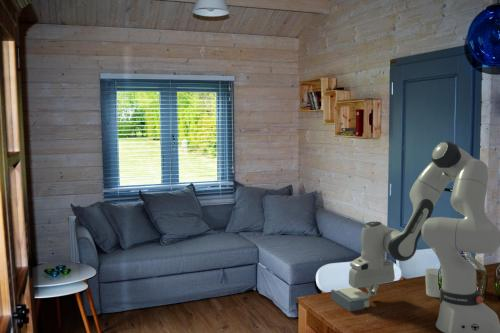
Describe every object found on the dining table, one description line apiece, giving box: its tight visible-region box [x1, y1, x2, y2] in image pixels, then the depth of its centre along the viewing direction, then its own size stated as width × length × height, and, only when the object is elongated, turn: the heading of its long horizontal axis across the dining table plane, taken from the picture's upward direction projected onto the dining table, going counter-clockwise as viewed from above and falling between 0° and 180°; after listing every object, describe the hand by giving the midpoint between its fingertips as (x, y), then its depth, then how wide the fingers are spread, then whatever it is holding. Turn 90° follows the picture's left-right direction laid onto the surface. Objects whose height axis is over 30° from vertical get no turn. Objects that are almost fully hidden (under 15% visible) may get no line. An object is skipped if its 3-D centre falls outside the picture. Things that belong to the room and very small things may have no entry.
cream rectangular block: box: [337, 287, 370, 309], centre depth 197 cm, size 8×10×5 cm
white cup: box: [424, 268, 440, 299], centre depth 205 cm, size 8×8×10 cm
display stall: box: [330, 289, 365, 313], centre depth 197 cm, size 6×14×4 cm, turn 21°
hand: (371, 294), depth 201 cm, fingers closed
